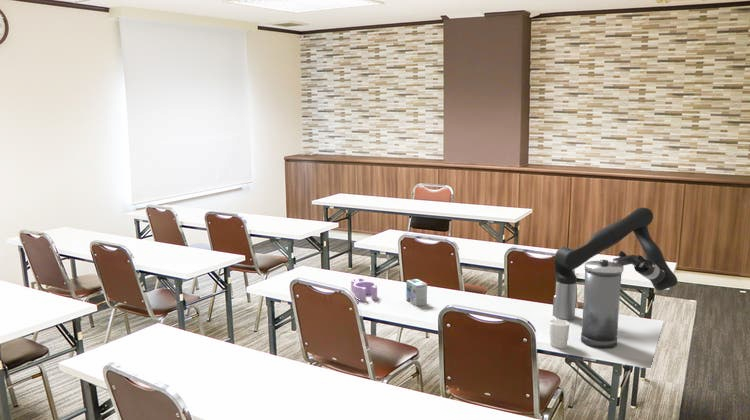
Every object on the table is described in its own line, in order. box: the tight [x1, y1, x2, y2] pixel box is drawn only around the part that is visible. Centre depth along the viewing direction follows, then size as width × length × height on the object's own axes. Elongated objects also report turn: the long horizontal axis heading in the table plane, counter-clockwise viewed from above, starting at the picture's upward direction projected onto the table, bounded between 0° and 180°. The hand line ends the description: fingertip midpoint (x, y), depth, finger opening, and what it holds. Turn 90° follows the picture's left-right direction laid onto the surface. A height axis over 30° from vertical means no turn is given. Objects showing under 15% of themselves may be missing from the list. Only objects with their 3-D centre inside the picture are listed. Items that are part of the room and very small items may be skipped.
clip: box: [350, 277, 378, 302], centre depth 316 cm, size 20×12×7 cm, turn 23°
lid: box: [584, 254, 637, 274], centre depth 251 cm, size 15×28×4 cm, turn 123°
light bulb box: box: [405, 278, 428, 306], centre depth 305 cm, size 11×7×11 cm, turn 25°
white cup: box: [549, 318, 570, 349], centre depth 249 cm, size 8×8×10 cm
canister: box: [580, 268, 623, 350], centre depth 250 cm, size 14×14×32 cm
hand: (628, 254), depth 255 cm, fingers open, 8 cm apart
